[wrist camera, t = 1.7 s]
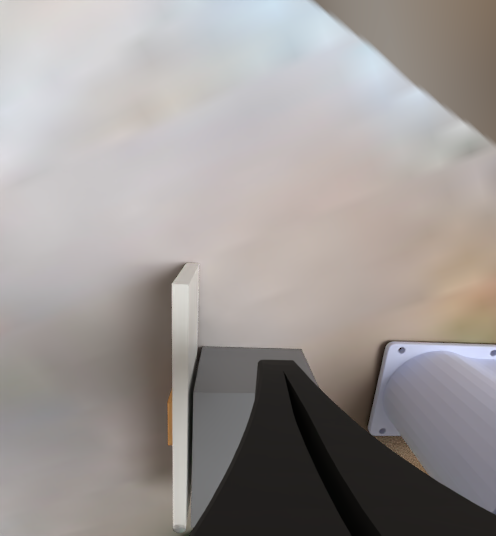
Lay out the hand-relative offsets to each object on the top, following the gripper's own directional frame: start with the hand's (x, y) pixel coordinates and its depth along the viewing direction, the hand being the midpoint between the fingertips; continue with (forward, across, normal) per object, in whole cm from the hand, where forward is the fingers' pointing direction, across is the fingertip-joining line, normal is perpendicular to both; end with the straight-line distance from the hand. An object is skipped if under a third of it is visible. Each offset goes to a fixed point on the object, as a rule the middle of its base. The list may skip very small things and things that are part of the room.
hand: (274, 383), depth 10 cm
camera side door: (+8, +4, +6) cm, 11 cm away
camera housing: (+8, 0, +8) cm, 12 cm away
